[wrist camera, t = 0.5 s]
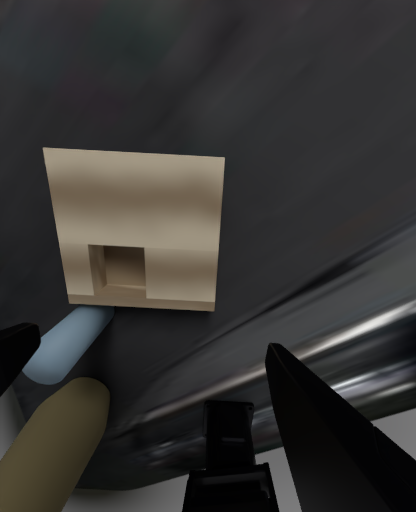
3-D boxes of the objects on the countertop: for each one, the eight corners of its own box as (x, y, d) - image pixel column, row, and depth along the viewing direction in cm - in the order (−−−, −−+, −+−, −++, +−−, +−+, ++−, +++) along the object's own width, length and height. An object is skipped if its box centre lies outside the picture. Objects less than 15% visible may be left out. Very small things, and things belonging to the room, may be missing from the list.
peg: (115, 323, 23) (69, 385, 16) (86, 321, 23) (24, 383, 16) (113, 296, 22) (62, 349, 15) (81, 294, 22) (14, 346, 15)
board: (213, 296, 22) (214, 311, 19) (87, 289, 22) (69, 303, 19) (222, 163, 18) (224, 157, 15) (69, 155, 18) (42, 147, 15)
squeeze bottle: (49, 372, 26) (-280, 731, 9) (108, 364, 25) (-114, 730, 8) (71, 417, 28) (-151, 771, 11) (127, 411, 27) (-15, 773, 10)
